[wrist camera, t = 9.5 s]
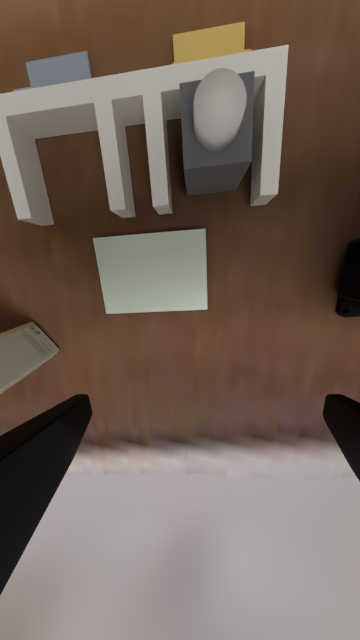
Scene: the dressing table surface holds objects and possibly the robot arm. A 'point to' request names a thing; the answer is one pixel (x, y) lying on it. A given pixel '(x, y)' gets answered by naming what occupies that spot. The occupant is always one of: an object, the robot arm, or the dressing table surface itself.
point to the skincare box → (23, 353)
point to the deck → (153, 271)
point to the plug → (217, 130)
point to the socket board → (135, 117)
